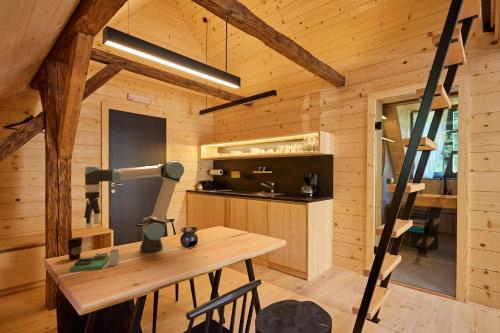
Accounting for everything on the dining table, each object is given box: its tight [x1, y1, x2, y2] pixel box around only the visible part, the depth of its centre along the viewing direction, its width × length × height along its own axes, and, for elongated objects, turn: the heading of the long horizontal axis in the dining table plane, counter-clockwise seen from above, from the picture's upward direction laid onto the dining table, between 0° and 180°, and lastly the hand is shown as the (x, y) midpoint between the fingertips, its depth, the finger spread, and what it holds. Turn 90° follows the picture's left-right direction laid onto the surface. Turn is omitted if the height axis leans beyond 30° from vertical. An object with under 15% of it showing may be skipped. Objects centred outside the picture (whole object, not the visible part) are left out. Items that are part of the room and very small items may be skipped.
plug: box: [109, 248, 120, 266], centre depth 160 cm, size 4×4×8 cm
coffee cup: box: [66, 236, 84, 261], centre depth 170 cm, size 9×8×13 cm
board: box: [69, 252, 110, 273], centre depth 159 cm, size 16×18×5 cm
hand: (92, 226), depth 163 cm, fingers open, 13 cm apart
